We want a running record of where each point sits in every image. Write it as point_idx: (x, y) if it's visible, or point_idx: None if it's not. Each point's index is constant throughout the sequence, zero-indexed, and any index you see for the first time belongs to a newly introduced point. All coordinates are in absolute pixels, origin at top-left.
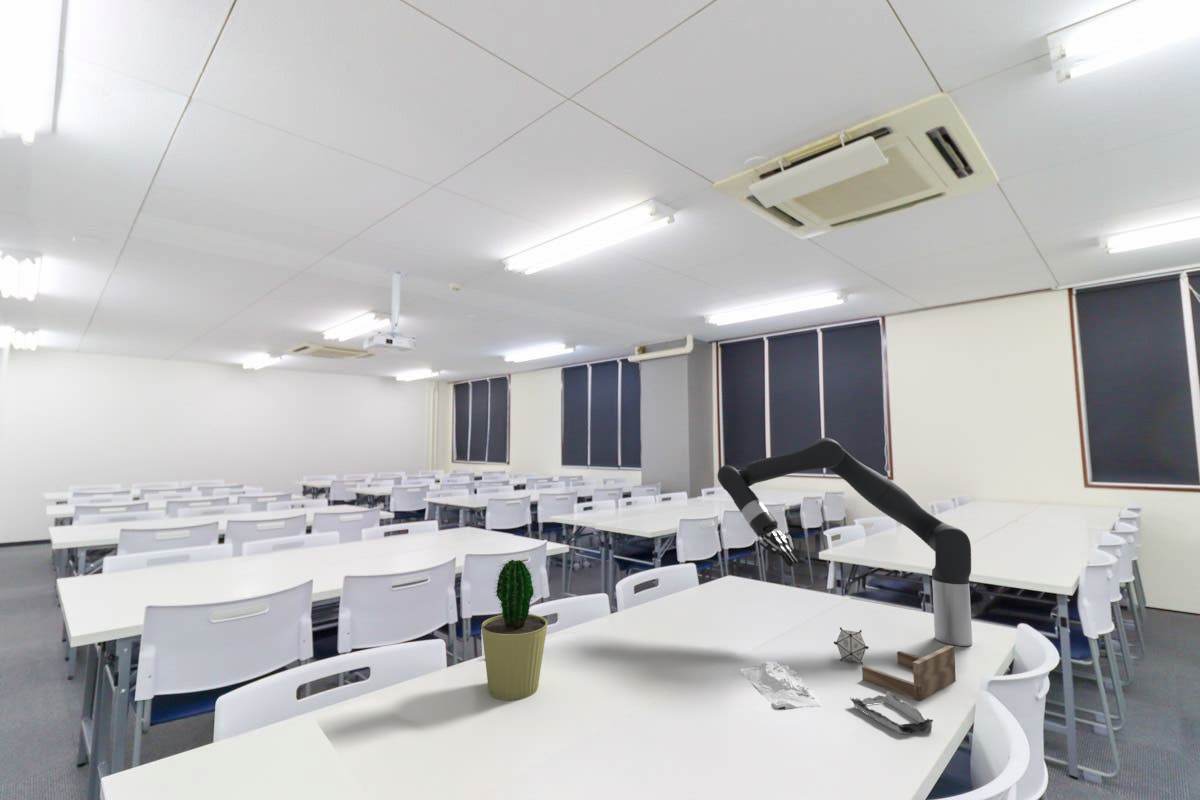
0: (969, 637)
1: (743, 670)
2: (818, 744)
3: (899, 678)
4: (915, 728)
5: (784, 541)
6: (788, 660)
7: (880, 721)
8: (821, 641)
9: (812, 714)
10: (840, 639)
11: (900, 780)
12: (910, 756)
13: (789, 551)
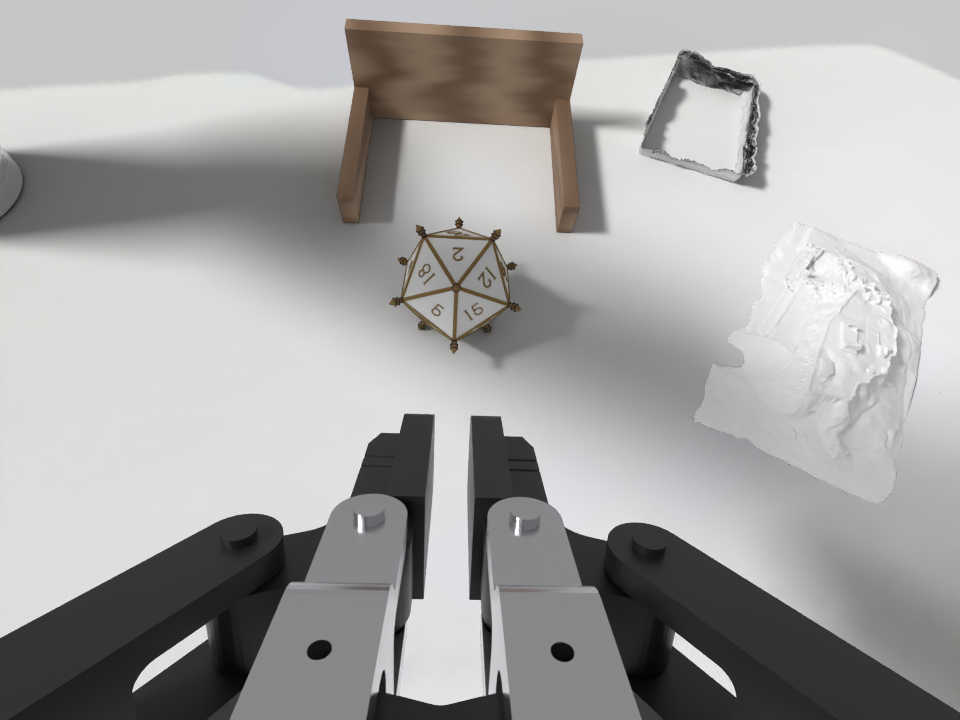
0: None
1: (880, 485)
2: (933, 161)
3: (561, 128)
4: (710, 80)
5: (362, 623)
6: (651, 445)
7: (742, 127)
8: (346, 484)
9: (859, 219)
10: (499, 287)
11: (872, 58)
12: (795, 68)
13: (395, 510)
